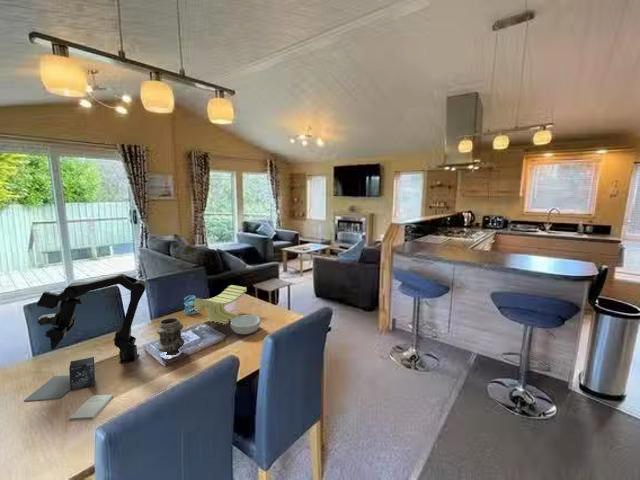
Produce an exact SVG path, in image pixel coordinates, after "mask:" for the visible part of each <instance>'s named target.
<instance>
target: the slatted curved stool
mask: <svg viewBox="0 0 640 480" xmlns="http://www.w3.org/2000/svg"><path fill="white" fill-rule="evenodd" d="M247 291H248V289H247V286H240V285H234V284H231V285H228V286H227V287H226V288H224V290H223V291H221V293H220V294H217V295H216V296H214V297H211V298H206V299H205V298H199V297H196V299H195V300H194V299H193V301H194V308H193V309H196V310H197V311H201V310H202V309H205V310H206V316H207V319H208V321H209V322H212V321H214V322H213V323H216V322H219V323H218V324H220V323H223V324H222V325H224V324H225V325H227V324H229V323H230V322H229V321H231V320H232V319H234V318H235V317H238V316H239V315H238V314H235V313H232V312H229V311H227V310H226V309H225V306H227V305H229V304H233V302H236V301H239V298H241V297H242V296H243V295H245V293H246V292H247ZM228 322H229V323H228ZM226 323H227V324H226Z"/></svg>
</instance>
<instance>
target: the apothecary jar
mask: <svg viewBox="0 0 640 480" xmlns="http://www.w3.org/2000/svg"><path fill="white" fill-rule="evenodd" d="M179 320H180V319H179V318H178V317H168V318H167V317H166V318H163V319H162V320H160V321H159V325H158V326H157V327H156V330H155V331H156V333H157V334H158V335H159V342H158V343H157V346H156V347H157V350H158V351H160V352H162V353H164V352H167V354H166V355H176V354H177V353H179V351H178V349H181V348H182V347H183V346H184V344H185V340H184V338H183V337H182V334H181V333H182V332H181V331H182V329H183V323H182V322H180V321H179Z"/></svg>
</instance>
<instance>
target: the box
mask: <svg viewBox="0 0 640 480" xmlns="http://www.w3.org/2000/svg"><path fill="white" fill-rule="evenodd" d="M68 369H69V375H70V391H76V390H80V389H85V388H89V387H94V386H95V383H96V382H95V380H96V376H95V375H96V374H95V373H96V372H95V356H92V357H87V358H83V359H82V358H81V359H77V360H71V361H70V364H69V368H68Z"/></svg>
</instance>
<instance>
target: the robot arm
mask: <svg viewBox="0 0 640 480" xmlns="http://www.w3.org/2000/svg"><path fill="white" fill-rule="evenodd" d="M116 285H120V286H122V287H124V288H125V289H127V290H128V291H130V295H129V296H130V298H129V299H130V300H129V303H128V307H127V309H126V313H125V317H124V319H123V323H122V326H121V327H117V329H116V332H115V336H114V338H113V340H112V341H113V342H114V344H113V345H114V346H115V347H116V348H118V349H119V353H118V354H119V361H118V362H119V363H134V362H135V360H136V359H137V358H138V357H140V353H139V354H138V347H137V346H138V345H137V344H135V343H136V340H137V338H136V337H135V336H133V335H132V325H133V322H134V318H135V316H136V312H137V308H138V305H139V302H140V300H141V298H142V296H143V294H144V293H145V290H146V289H147V283H146V281H144V280H142V279H137V278H134V277H132V276H128V275H125V274H124V273H119V274H117V275H112V276H109V277H105V278H101V279H97V280H93V281H79V282H78V281H77V282H72V283H70V284H69V285H67V286H66V287H65V288H64V289H63V291H61V292H60V293H56V292H55V293H53V292H50V291H44V292H43V293H42V295H41V296H40V298H39V299H38V301H37V304H36V307H37V308H42V309H49V310H55V309H56V308H59V310H58V311H57V313H49V314H48V313H47V314H43V315H41V316H39V318H38V321H37V324H38V325H39V326H40V327H41V326H46V325H51V326H52V327H49V328H48V329H47V330H46V332H45V335H44V337H46V338H49V340H50V349H51V350H54V349H55V348H56V347H57V346H58V345H59V344H60V342H62V341H63V339H64V338H65V336H66V335H67V334H68V332H69V331H70V330H71V329H72V328H73V327H74V325H75V323H76V322H77V320H78V318H77V317H76V309H77V307H78V305H82V304H84V302H85V300H84V299H83V298H82V296H83V295H85V294H87V293H89V292H91V291H97V290H100V289H105V288H108V287H113V286H116Z"/></svg>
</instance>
